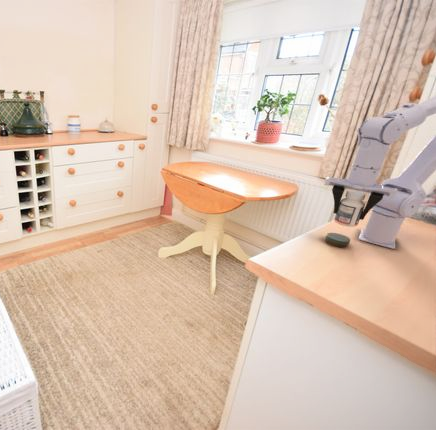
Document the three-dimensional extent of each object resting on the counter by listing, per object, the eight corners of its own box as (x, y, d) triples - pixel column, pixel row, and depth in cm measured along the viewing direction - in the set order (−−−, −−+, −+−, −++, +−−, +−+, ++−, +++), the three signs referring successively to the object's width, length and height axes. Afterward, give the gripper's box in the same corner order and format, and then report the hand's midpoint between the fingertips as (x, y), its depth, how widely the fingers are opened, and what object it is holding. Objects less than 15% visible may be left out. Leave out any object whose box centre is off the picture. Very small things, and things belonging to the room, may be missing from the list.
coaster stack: (326, 236, 87) (328, 230, 87) (349, 243, 84) (351, 237, 83) (322, 243, 83) (325, 236, 83) (346, 250, 80) (349, 243, 79)
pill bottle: (349, 220, 83) (360, 190, 79) (361, 228, 78) (374, 196, 74) (329, 218, 83) (339, 189, 80) (340, 226, 78) (352, 195, 75)
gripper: (329, 164, 76) (314, 211, 81) (404, 175, 67) (381, 228, 72) (334, 160, 81) (319, 205, 86) (404, 170, 72) (382, 220, 77)
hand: (348, 215), depth 80 cm, fingers closed on pill bottle, 5 cm apart
